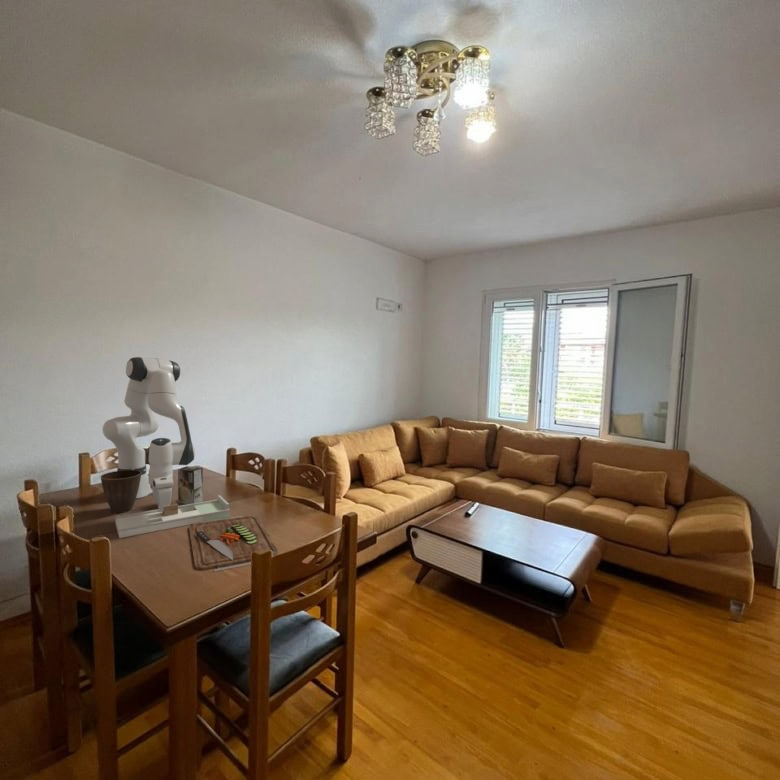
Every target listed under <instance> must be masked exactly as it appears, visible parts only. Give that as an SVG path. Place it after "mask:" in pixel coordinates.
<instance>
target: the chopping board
mask: <svg viewBox="0 0 780 780" xmlns="http://www.w3.org/2000/svg"><path fill="white" fill-rule="evenodd" d="M188 526H189V527H188V530H189V537H190V544H191V551H192V557H193V564H194V567H195V569H197V570H198V571H205V570H211V569H214V572H215V573H216V572H219V571H223V570H224V571H225V570H230V569H235V568H241V567H245V566H251V562H252V561H251V553H252V552H255V551H265V550H272V551H273V555H275V556H277V555H278V553H279V551H278V548H277V546H276V545H275V543H274V541H273V539H272V537H270V534H269V533H268V531H267V529H266V527H265V526H264V525H263V522H262V520H261V519H260V518H259V517H258V516H256V515H245V516H243V515H240V516H231V517H227V518H222V519H216V520H209V521H202V522H201V523H196V524H190V525H188ZM276 554H277V555H276Z"/></svg>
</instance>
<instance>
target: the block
mask: <svg viewBox="0 0 780 780" xmlns="http://www.w3.org/2000/svg"><path fill="white" fill-rule="evenodd" d="M178 506H179V503H178V501H176V500H173V501H171V503H170V506H166V507H164V512H162V513H163V514H164V516H169V515H175V514H178Z"/></svg>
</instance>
